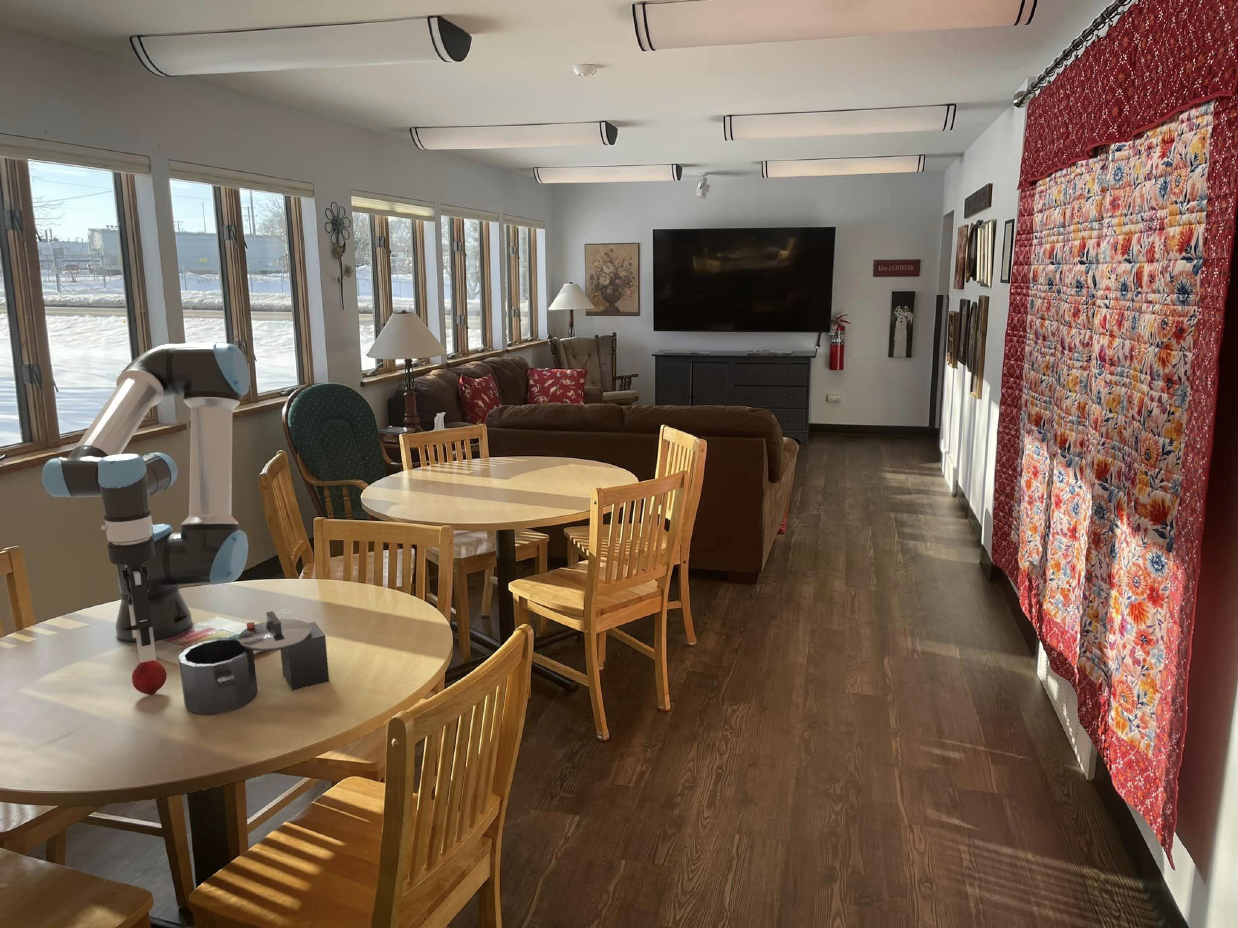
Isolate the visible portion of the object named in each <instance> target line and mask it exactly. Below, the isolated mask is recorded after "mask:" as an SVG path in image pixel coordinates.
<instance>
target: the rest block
mask: <svg viewBox="0 0 1238 928" xmlns="http://www.w3.org/2000/svg"><path fill="white" fill-rule="evenodd" d="M307 623H308V624H309V625H310V628H311V634H310V636H309V637H308V638H307V639H306V640H304V641H303V642H301V643H299V644H296V645H294V646H291V647H287V648H283V649H279V650H280V658H281V659H280V660H281V669H282V676H283V677H284V679H285V681H286V683H287V684H288V686H289V687H290V689H291V691H296V690H300V689H305V688H308V687H312V686H316V685H320V684H324V683H328V682H330V676H329V675H330V674H329V662H328V652H327V641H326V640H327V639H326V635H325V633H324V632H323V630H322V629H321V628H320V626H319V625H318V624H317V622H315V621H313V622H307Z"/></svg>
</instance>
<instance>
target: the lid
mask: <svg viewBox="0 0 1238 928" xmlns="http://www.w3.org/2000/svg"><path fill="white" fill-rule="evenodd" d="M308 623H309V622H307V621H304V620H301V619H293V618H292V619H291V618H283V619H279V618H278V617H277V615H276V614H275V612H274V611H273V610H272V611H267V612H266V621H263V622H259V623H256V624H255V622H254V621H253V622H252V621H251V622H247V623H246V628H245V629H244V630H242V631H241V632H240V633H239V634H238V637H237V638H238V639H239V645H240V646H241V647H243V648H245V649H248V650H253V651H254V652H267V651H269V652H271V651H278V650H280V649H283V648H287V647H291V646H294V645H296V644H299V643H301V642H303V641H304V640H306V639H307V638H308V637H309V636H310V634H311V628H310V625H309V624H308Z"/></svg>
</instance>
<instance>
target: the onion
mask: <svg viewBox="0 0 1238 928" xmlns="http://www.w3.org/2000/svg"><path fill="white" fill-rule="evenodd" d="M167 675H168V674H167V671H166V668H165V667H164V665H163V664H162V663H161V662H159V661H157V660H152V661H147V662H142V663H140V662H138V664H137V666H136V667H135V668H134V669H133V672H132V675H131V682H132V686H133V687H134V689H135V690H137V691H138V692H140V693H141V694H144V695H148V696H154V695H155V694H156V693H157V692H158V691H159V690H160V689H161V688H162V687H163V686H164V685H165V683H166V681H167V678H168V677H167Z"/></svg>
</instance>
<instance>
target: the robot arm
mask: <svg viewBox="0 0 1238 928" xmlns="http://www.w3.org/2000/svg"><path fill="white" fill-rule="evenodd" d="M244 355H245V354H243V351H242V350H241V349H240V348H239V347H238V346H237V345H235V344H232V343H222V342H215V341H214V342H205V343H203V342H202V343H166V344H161V345H158V346H156V347H152V348H151V349H149V350H146V351H145V352H144V353H142V354H140V355H139V356H137V357H136V358H134V359H133V360H132V361H130V363H128V364H127V366H126V367H125V368H123V370H122V371H121V372H120V374H119V375H118V377H117V378H116V389H115V390H114V392H113V393H112V394H111V396H110V397H109V399H108V400H107V401H106V403H105V404H104V405H103V407H102V409H101V410H100V411H99V413H98V414H97V416H96V417H95V418H94V420H93V421H92V423H91V424H90V425H89V427H88V428H87V430H86V432H85V433H84V434H83V435H82V437H81V438H80V440H79V441H78V442H77V443H76V444H75V445H76V446H75V447H74V448H73V450H72V451H71V452H70V453H69V455H68V456H67V457H64V456H59V457H56V458H54V457H53V458H51V459H49V460H48V461H46V463H45V464H44V466H43V468H42V473H41V475H42V476H41V480H42V485H43V486H44V488H45V491H46V493H48V494H49V495H50V496H52V497H56V498H58V497H59V498H72V499H74V498H91V497H93V498H95V497H101V498H100V499H101V503H102V510H103V519H104V523H105V524H102V525H101V527H100V529H101V530H102V531H105V533H106V540H107V541H108V544H107V551H108V559H109V563H110V564H113V565H115V567H116V573H117V581H118V587H119V593H120V605H119V609H118V615H117V618H116V622H115V630H116V637H117V638H118V639H119V640H122V641H124V642H131V643H132V642H135V643H136V646H137V653H138V654H137V655H138V661H139V662H138V663H142V662H147V661H152V660H155V661H157V654H156V646H155V641H157V640H162V639H165V638H169V637H173V636H175V635H178V634H180V633H182V632H184V631H186V630H187V629H189V628H190V627H191V625H192V623H193V620H192V613H191V611H190V608H189V607H188V605H187V603H186V601H185V599H184V597H183V595H182V593H181V592H180V591H181V590H180V587H179V586H181V585H182V586H186V585H187V586H189V585H212V586H213V585H219V584H230V583H234V582H235V581H236V580H237V579H239V577H241V575H242V574H243V571H244V569H245V566H246V564H247V560H248V553H249V541H248V535H247V534H246V532H245V531H243V530H241V529H239V522H238V521H237V519H235V518H234V517H233V515H232V492H233V491H232V489H233V487H232V485H233V483H232V481H233V476H232V475H233V412H234V410H235V409H236V408H237V407H238V406H239V405H240V404H241V401H240V400H241V396H244V395H247V394H248V392H249V391H250V386H251V377H250V370H249V366H248V362H247V360H246V358H245V356H244ZM170 396H183V403H184V404H185V405H187V406H188V407H189V409H190V432H189V433H190V436H189V437H190V442H189V443H190V445H189V447H190V448H189V449H190V450H189V500H188V501H189V503H188V505H189V506H188V509H189V510H188V513H189V514H188V517H186V519H185V520H183V522H181V524H180V525H181V529H180V531H181V532H180V531H179V532H176V531H174V529H173V527H172V526H171V525H170V524H167V523H157V524H153V519H152V512H151V507H150V506H151V505H150V499H151V498H152V497H154V496H156V495H158V494H160V493H162V492H165V491H167V490H168V489H169V488H170V487H171V486H173V485H174V484H175V482H176V480H177V479H178V474H179V473H178V472H179V470H178V466H177V463H176V461H175V460H174V459H173V458H172V457H171V456H169V455H168V454H165V453H164V452H163V453H162V452H152V453H150V452H149V453H148V452H147V453H146V454H144V455H140V454H137V453H123V451H124V450H125V448H126V447H127V445H128V444H129V442H130V441H131V439H132V437H133V436H134V435H135V433H136V431H137V429H139V426H140V425H141V424H142V422H143V420H144V419H145V417H146V416H147V414H148V412H149V411H150V410H151V408H152V407H155V406H157V405H158V404H159V403H161V402H162V400H163V399H164V398H166V397H170ZM173 531H174V532H173Z"/></svg>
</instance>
